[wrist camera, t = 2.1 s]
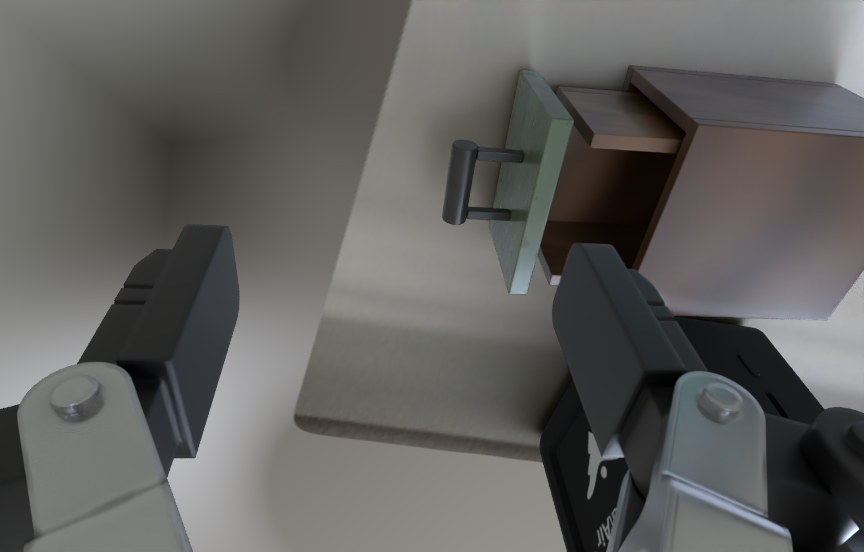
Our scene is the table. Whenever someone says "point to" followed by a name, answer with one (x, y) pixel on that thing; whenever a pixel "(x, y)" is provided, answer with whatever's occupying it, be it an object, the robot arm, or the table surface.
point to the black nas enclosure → (602, 477)
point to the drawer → (568, 176)
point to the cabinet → (756, 196)
